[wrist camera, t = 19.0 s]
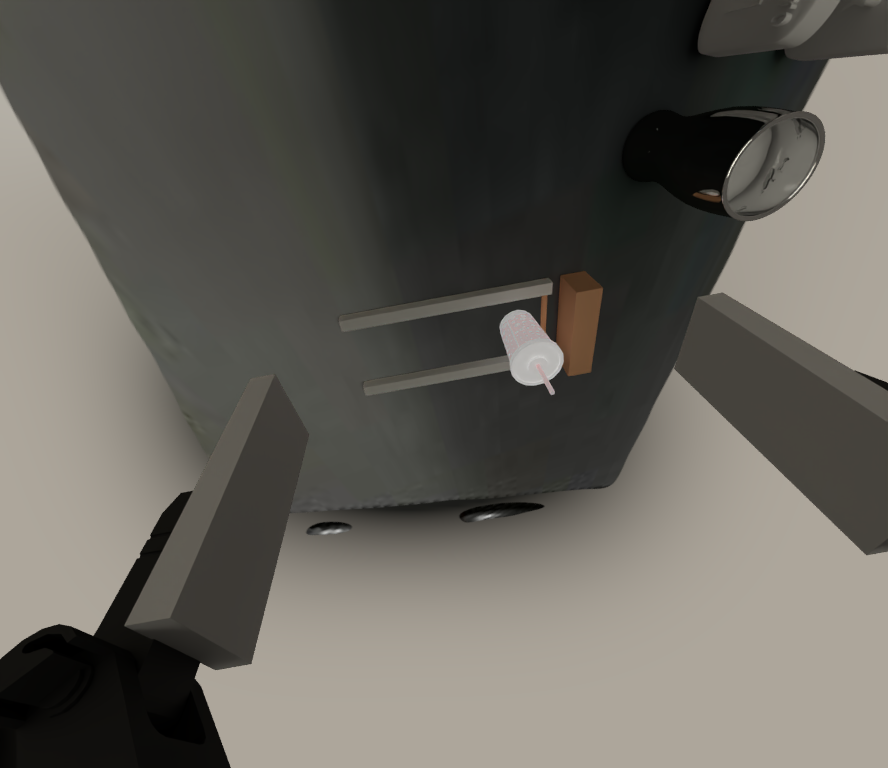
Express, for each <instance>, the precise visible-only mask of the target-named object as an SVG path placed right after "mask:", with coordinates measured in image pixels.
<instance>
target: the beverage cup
mask: <svg viewBox="0 0 888 768" xmlns="http://www.w3.org/2000/svg"><path fill="white" fill-rule="evenodd" d="M500 333H501V336H502V339H503V342H504V345H505V348H506V351H507V354H508V357H509V361H510V370H511V373H512V376H513V377H514V378H515V379H516V381H517V382H519V383H522V384H524V385H538V384H542V383H545V385H546V387H547V388H548V390H549V392H550V394H551V395H553V394H554V393H555V392H554V390H553V388H552V386H551V384H550V382H549V380H550V379H552V378H553V377H554V376H555V375H556V374H557V373H558V372H559V371H560V369H561V367H562V365H563V363H564V356H563V352H562V351H561V349H560V348H559V346H558V345H557V343H555V342H553V341H551V339H550V338H549V337H548V336H547V334H546V333H545V332H544V331H543V329H542V328H541V327H540V326H539V324H538V323H537V322H536V321H535V319H534V318H533V317H532V316H531V314H530V313H528V312H526V311H524V310H516V311H512V312H510V313H509V314H507V315H506V316H505V317H504V318H503V320H502V321H501V324H500Z"/></svg>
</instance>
